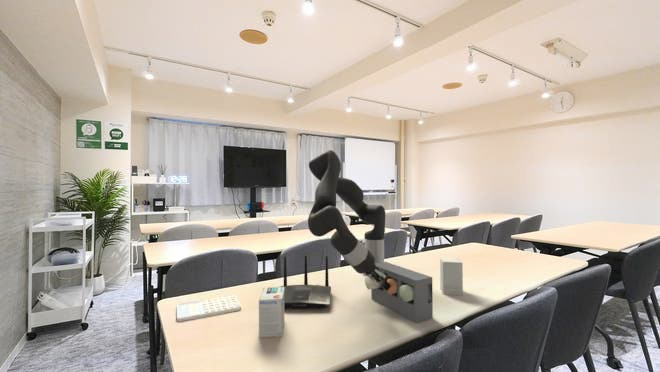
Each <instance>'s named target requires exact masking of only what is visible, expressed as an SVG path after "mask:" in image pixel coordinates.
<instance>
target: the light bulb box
mask: <svg viewBox="0 0 660 372" xmlns="http://www.w3.org/2000/svg"><path fill="white" fill-rule="evenodd" d="M284 325H285V308H284V287H280V286H278V287H276V286H275V287H274V286H273V287H263V289H262V293H261V295H260V297H259V299H258V338H281V337H282V336H283V333H284V332H283V331H284Z"/></svg>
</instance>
